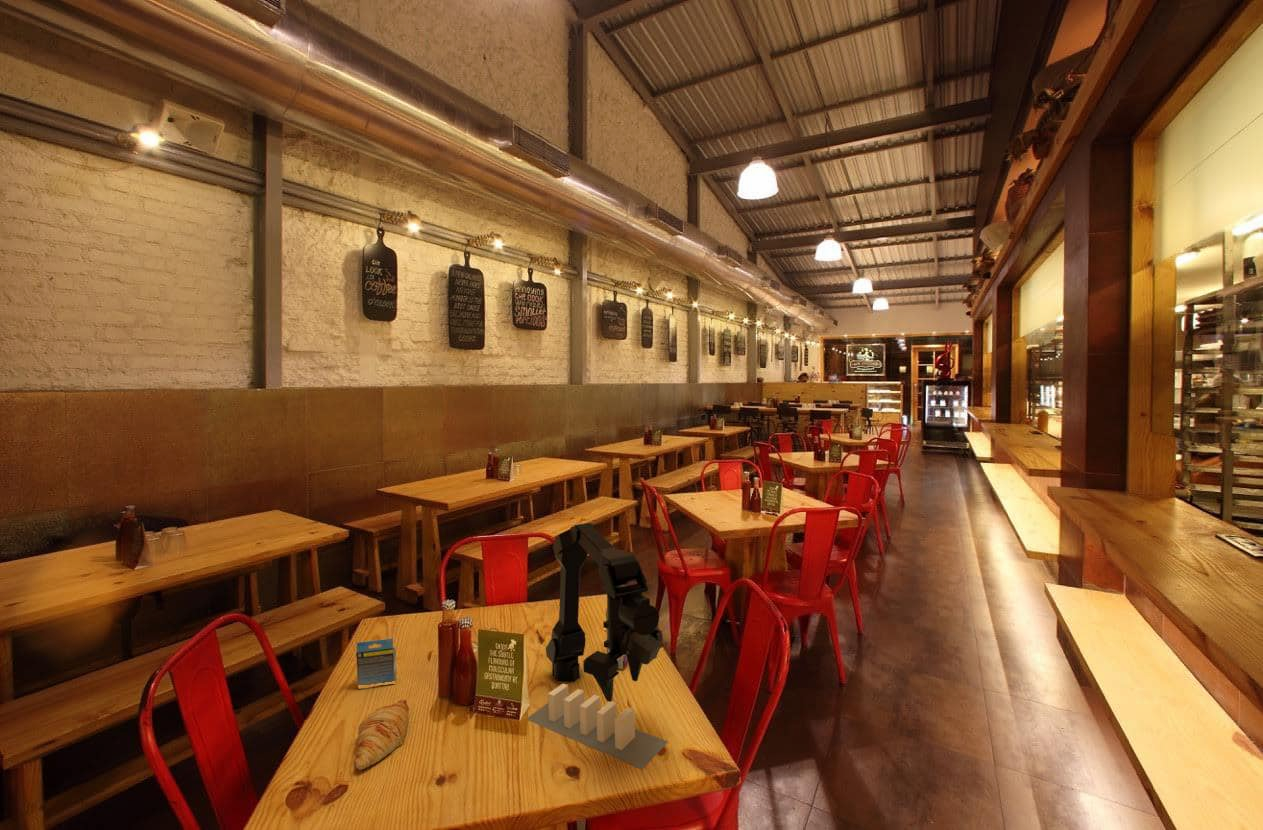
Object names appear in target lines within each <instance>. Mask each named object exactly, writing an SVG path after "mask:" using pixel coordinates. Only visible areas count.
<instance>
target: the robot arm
mask: <svg viewBox="0 0 1263 830" xmlns="http://www.w3.org/2000/svg"><path fill="white" fill-rule="evenodd" d="M552 549H553V552H554V557H555V558H556V560H557V562H558V563H559V565H560V584H559V606H558V607H559V608H558V609H559V614H558V620H557V622H556V623H555V625H554V626H553V627H552V630H551V631H552V632H551V639H550V640H549V642H548V644H547V645H546V647H545V654H546V657H547V659H548V660H549V661H550V662H551V669H552V670H551V672H552V677H553V679H554V680H555V681H557V682H560V683H575V682H576V681H578V680H579V679H580V677H581V675H580V673H581V672H580V663H579V657H583V656H584V653H585V648H586V643H587V641H586V632H585V631H584V630H583V629H582V626H581V625H580V623H579V608H580V605H579V604H580V584H581V569H582V566H583V564H584V563H585V562H586V561H587V559H588V555H589V556H590V558H591V559H592V560H594V562H595V563H596V564H597V565H598V566H599V573H598V575H599V576H600V578H601V580H602V582H603V584H604V585H603V590H604V591H605V592H606V607H607V608H606V609H607V621H606V620H605V621H603V624H602V625H603V627H602V628H605V629H606V628H608V640H607V639H606V640H604V641H603V647H604V648H606V649H607V648H609V650H610V652H609V653H607V652H602V651H599V650H596V651H594V652H593V653H591V654H590V655H588V656H586V658H584V660H583V661H582V666H583V667H582V668H583V670H582V671H583V673H585V674H587V675H591V676H592V677H593V678H594V680H595V681H596V683H597V685H598V686H599V688H600V690H601V692H602V695H603V696H604V698H605V700H606V701H607V702H608V703H609V702H611V701H613V695H614V678H616V677H617V676H618V675H619V674H620V672H619V671H618V670H619V669H618V660H619V659H620V658H622V657H623V656H625V655H627V659H628V662H627V665H628V668H629V673H630V676H631V680H632V681H633V682H637V681H638V680H639V676H640V673H641V669H642V665H649V664H650V663H651V662H653V660H655V659H657V657H658V654H659V652H660V650H661V648H663V647H664V643H663V641H664V638H663V631H662V630H661V629H660V628H658V627H657V626H658V625H659V621H660V614H659V612H658V610H657V608H656V606H653V605H652V604H651V601H650V600H651V599H650V598H649V597H648V596H644V595H642V593H643V594H644V593H646V592H649V589H648V585H647V583H648V581H647V579H646V576H645V574H644V572H643V570H642V567H641V565H640V562H639V561H638V559H637V558H636V556H635V555H633V554H632V553H630V552H629V551H627V550H624V549H619V548H616V547H615V546H613V544H612V543H610V541H609V540H607V539H606V538H605V537H604V535H602V534H601V532H599V531H598V530H597V529H596V526H595V524H594V523H591V522H585V523H579V524H577V523H576V524H575V525H572V526H571V527H570V528H569V529H567V530H565V531H563V532H561V533H559V534H557V536H555V537H554V539H553V542H552ZM635 582H636V583H635ZM633 583H634V584H633ZM628 584H630V585H628Z"/></svg>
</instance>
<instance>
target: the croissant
mask: <svg viewBox="0 0 1263 830" xmlns="http://www.w3.org/2000/svg"><path fill="white" fill-rule="evenodd" d="M409 710H410V708H409V706H408V703H407V700H406V699H405V700H404V699H400V700H398V701H397V702H395V703H392V704H391V705H390V704H389V705H385V706H383V707H379V708H376V709H375V710H373V711H372V712H369V714H368V715H366V716H365V717H364V718H363V720H362V721H360V723H359V724H358V726H357V735H358V736H357V740H356V744H357V746H358V747H357V749H356V752H355V753H356V759H355V768H356V769H357V770H359V771H361V770H364V769H367V768H369V767H371V766H373V765H374V764H376V762H377V763H378V762H381V761H382V759H384V758H385V757H386V756H388V755H390V754H391V753H392V752H394V750H396V749H397V748H398V747H399V746H398V745H400V746H401V745H402V744H403V743H404V741H405V736H406V734H407V731H408V727H409V722H410V721H409V712H410V711H409ZM396 747H397V748H396ZM395 748H396V749H395ZM389 753H390V754H389ZM387 754H388V755H387ZM370 765H371V766H370ZM366 767H367V768H366Z"/></svg>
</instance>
